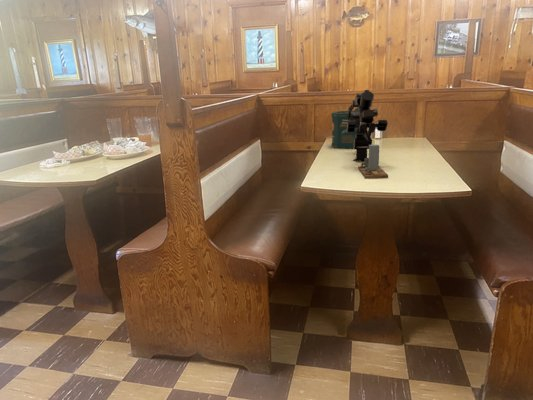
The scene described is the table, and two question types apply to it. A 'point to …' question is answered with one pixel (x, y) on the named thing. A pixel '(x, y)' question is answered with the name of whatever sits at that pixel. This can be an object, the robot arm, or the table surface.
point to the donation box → (341, 131)
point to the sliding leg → (373, 158)
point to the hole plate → (371, 171)
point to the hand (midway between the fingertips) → (368, 140)
